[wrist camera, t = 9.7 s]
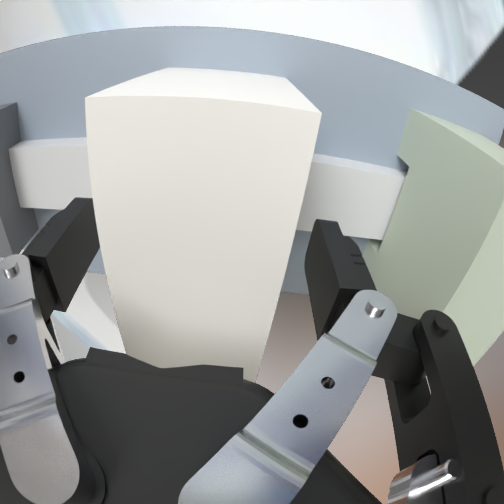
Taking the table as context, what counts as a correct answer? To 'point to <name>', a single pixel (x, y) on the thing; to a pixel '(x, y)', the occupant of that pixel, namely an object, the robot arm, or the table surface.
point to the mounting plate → (322, 166)
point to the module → (198, 208)
